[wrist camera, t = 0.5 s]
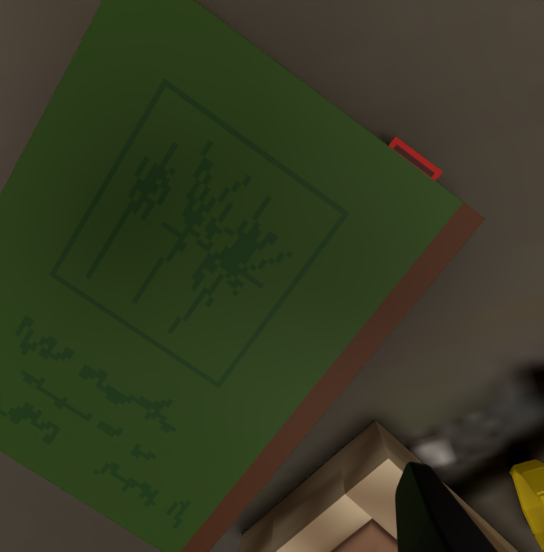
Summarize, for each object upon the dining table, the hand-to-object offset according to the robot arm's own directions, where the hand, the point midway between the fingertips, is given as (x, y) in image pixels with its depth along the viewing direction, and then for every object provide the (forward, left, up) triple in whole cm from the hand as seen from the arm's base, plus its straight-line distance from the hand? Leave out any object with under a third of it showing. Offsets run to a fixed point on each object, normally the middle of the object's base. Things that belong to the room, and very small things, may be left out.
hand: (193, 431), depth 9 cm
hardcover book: (-3, +2, -15) cm, 16 cm away
